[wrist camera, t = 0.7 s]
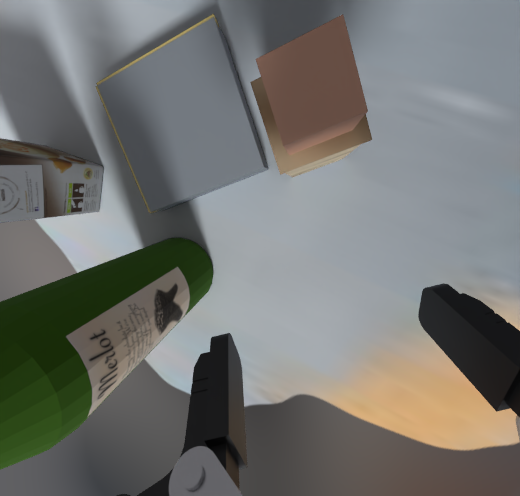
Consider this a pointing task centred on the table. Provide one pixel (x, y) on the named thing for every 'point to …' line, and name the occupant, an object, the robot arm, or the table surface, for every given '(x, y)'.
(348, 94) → the cube
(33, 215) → the coffee box
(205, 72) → the dock
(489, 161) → the table surface
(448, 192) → the table surface
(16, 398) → the wine bottle
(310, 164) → the wooden block
